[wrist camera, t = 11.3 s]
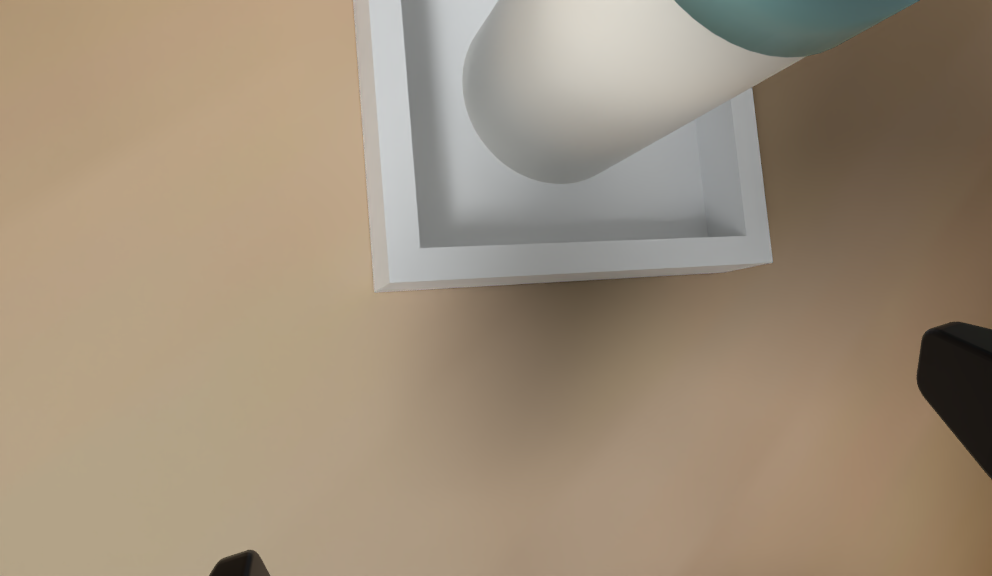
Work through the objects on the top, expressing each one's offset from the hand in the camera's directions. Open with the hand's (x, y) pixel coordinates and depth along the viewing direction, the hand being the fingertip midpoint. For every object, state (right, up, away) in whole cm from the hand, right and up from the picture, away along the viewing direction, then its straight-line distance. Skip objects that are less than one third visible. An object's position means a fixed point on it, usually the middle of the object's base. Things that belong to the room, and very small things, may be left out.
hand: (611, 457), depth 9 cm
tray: (0, +8, +12) cm, 14 cm away
